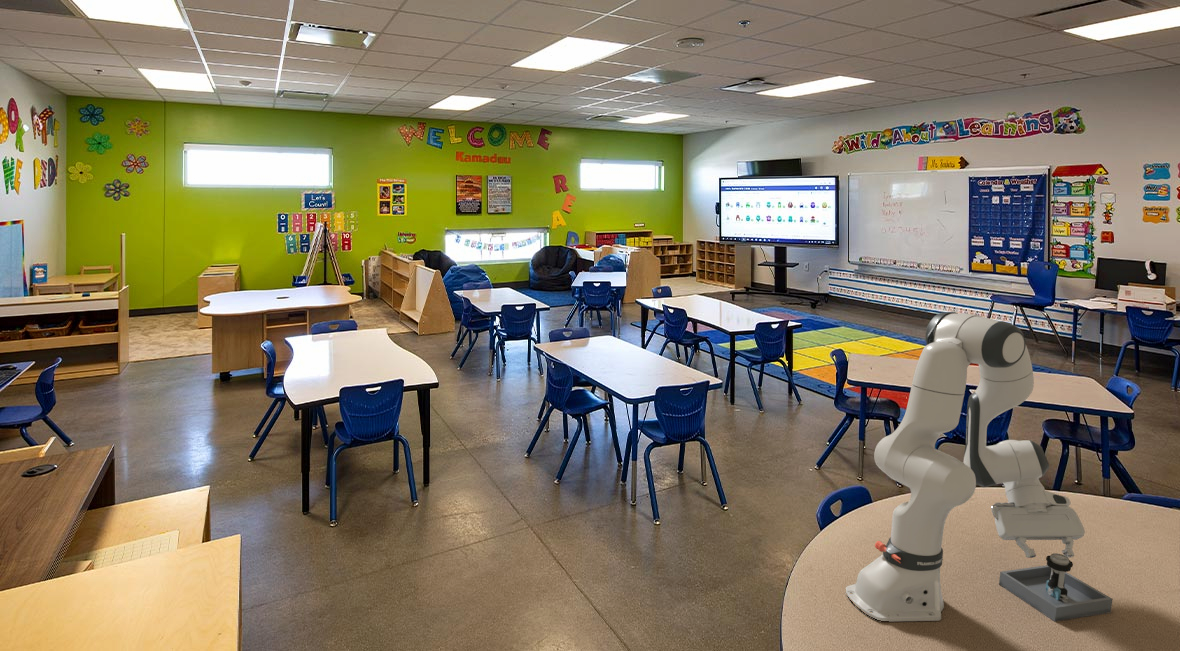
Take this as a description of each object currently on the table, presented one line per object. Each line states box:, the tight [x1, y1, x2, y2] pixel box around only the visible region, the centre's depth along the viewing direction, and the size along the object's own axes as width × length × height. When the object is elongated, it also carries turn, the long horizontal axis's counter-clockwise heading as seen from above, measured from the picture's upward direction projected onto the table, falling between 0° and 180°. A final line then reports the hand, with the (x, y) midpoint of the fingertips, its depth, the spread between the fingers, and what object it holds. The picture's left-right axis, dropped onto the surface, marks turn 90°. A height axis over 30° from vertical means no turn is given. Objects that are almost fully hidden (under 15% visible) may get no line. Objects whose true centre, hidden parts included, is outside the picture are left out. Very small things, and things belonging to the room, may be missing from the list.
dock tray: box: [998, 564, 1114, 622], centre depth 164 cm, size 16×16×4 cm
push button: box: [1045, 552, 1074, 603], centre depth 162 cm, size 7×5×10 cm
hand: (1050, 557), depth 165 cm, fingers open, 8 cm apart
